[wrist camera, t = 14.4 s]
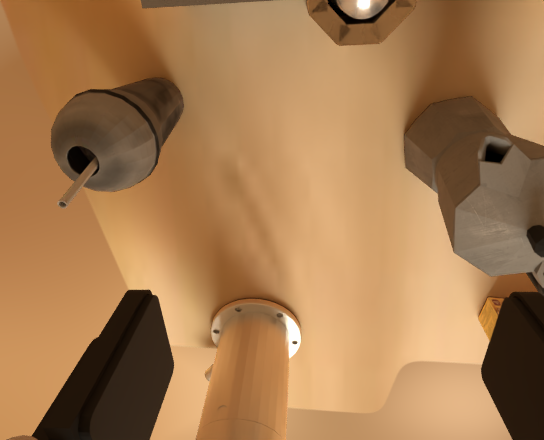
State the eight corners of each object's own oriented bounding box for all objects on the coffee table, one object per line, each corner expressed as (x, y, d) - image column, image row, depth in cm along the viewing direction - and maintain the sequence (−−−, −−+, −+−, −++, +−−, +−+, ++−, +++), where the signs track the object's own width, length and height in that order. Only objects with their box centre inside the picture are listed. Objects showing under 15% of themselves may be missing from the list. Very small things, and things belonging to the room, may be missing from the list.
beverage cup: (136, 46, 35) (-26, 100, 18) (208, 86, 36) (123, 171, 19) (116, 115, 38) (-36, 216, 21) (182, 149, 39) (90, 268, 22)
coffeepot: (374, 113, 36) (427, 202, 21) (472, 53, 33) (621, 108, 18) (437, 227, 42) (514, 361, 27) (526, 186, 39) (670, 313, 24)
